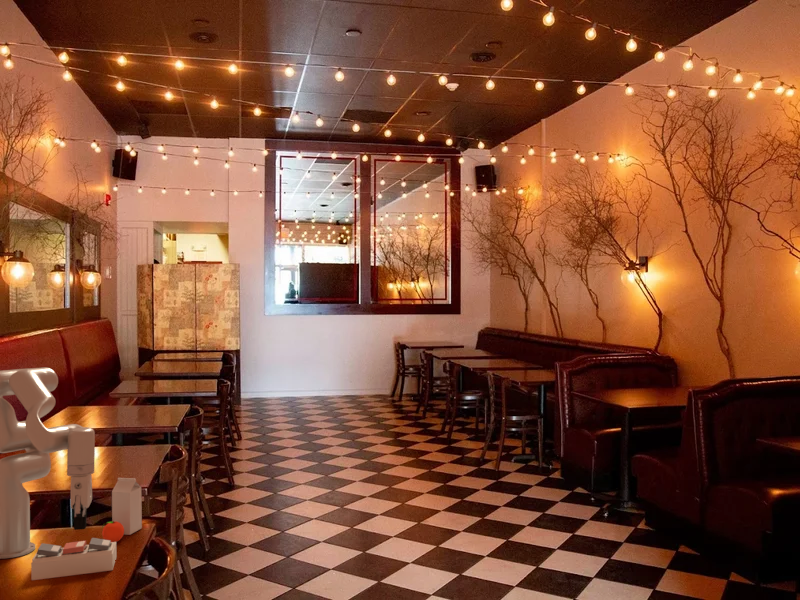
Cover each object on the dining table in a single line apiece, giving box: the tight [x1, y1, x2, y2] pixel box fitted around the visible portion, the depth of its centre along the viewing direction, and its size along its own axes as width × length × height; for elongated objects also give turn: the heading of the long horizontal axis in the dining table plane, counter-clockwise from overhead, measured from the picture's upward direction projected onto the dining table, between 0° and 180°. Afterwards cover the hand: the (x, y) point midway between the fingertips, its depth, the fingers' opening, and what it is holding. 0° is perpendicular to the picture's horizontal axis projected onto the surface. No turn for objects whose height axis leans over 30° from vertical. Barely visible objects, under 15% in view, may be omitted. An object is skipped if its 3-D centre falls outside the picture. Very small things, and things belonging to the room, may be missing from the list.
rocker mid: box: [62, 540, 87, 554], centre depth 201 cm, size 6×6×2 cm
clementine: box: [101, 520, 125, 543], centre depth 225 cm, size 8×7×7 cm
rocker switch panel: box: [30, 542, 117, 581], centre depth 202 cm, size 22×11×6 cm, turn 108°
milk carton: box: [111, 477, 143, 536], centre depth 236 cm, size 7×7×19 cm
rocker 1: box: [36, 542, 62, 556], centre depth 199 cm, size 6×6×2 cm
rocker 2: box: [88, 537, 111, 550], centre depth 203 cm, size 6×6×2 cm
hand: (80, 528), depth 202 cm, fingers closed
